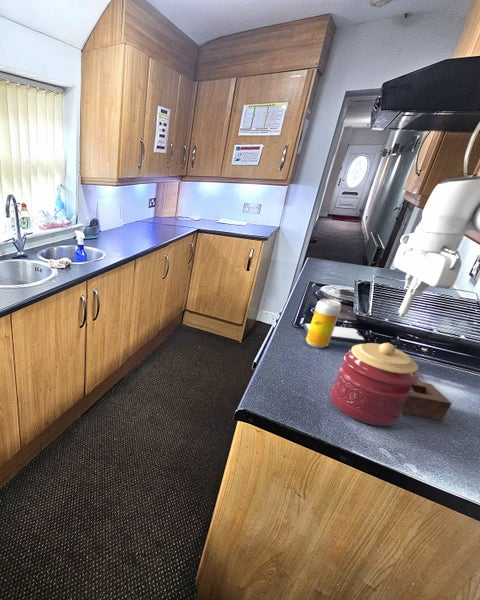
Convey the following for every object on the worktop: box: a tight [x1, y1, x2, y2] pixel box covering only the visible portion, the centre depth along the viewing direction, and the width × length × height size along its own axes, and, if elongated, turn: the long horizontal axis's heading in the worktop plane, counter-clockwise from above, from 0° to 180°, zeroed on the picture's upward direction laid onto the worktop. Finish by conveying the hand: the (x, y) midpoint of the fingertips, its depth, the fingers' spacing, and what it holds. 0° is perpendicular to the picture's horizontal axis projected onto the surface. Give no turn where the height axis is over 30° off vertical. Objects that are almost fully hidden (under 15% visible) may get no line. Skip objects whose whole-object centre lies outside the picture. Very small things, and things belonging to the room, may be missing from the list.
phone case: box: [302, 322, 366, 344], centre depth 112 cm, size 9×2×16 cm
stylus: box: [398, 277, 418, 318], centre depth 90 cm, size 2×2×14 cm
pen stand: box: [402, 382, 453, 422], centre depth 78 cm, size 8×8×5 cm
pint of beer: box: [305, 298, 342, 349], centre depth 103 cm, size 6×6×15 cm
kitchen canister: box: [329, 342, 420, 427], centre depth 75 cm, size 13×13×18 cm
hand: (411, 292), depth 90 cm, fingers closed on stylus, 2 cm apart
